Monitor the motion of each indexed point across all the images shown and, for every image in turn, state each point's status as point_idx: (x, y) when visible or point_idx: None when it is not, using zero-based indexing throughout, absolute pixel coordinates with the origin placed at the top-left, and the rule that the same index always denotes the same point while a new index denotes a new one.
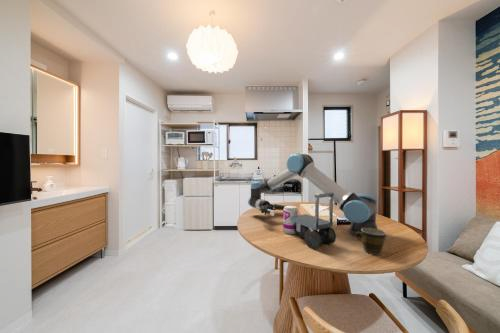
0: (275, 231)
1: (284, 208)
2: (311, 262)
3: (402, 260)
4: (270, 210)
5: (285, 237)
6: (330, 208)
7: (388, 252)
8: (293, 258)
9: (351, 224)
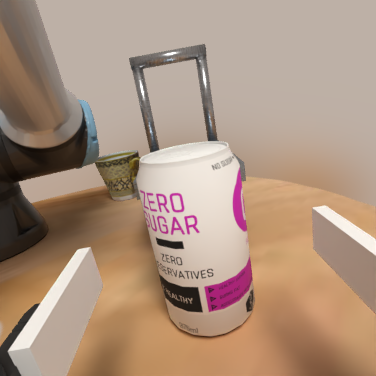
0: (306, 340)
1: (233, 156)
2: (269, 180)
3: None
4: (359, 229)
5: (272, 260)
6: (150, 108)
7: (103, 195)
8: (302, 186)
9: (2, 225)
